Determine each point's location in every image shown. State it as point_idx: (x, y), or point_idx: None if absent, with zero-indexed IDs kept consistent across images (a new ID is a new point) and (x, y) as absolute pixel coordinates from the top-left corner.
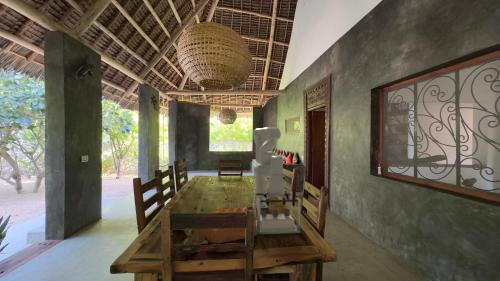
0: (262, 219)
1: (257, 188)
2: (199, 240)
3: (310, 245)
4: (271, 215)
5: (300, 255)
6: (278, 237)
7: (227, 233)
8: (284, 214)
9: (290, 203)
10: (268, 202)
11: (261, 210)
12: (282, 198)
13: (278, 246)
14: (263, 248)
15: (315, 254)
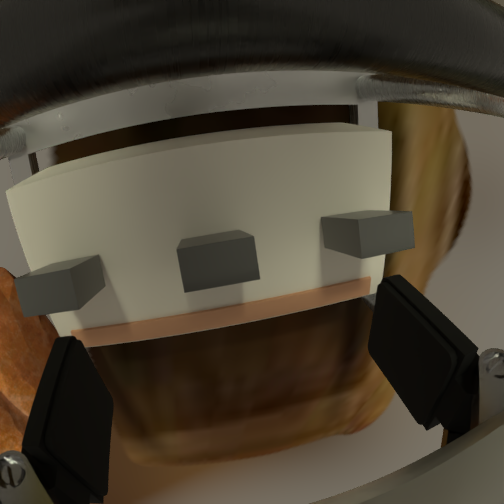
0: (75, 320)
1: None
2: None
3: (347, 391)
4: (165, 190)
5: (279, 446)
6: (212, 360)
7: None
8: (330, 232)
9: (493, 114)
10: (101, 453)
11: (23, 302)
12: (446, 350)
13: (205, 423)
14: (141, 437)
15: (332, 431)
